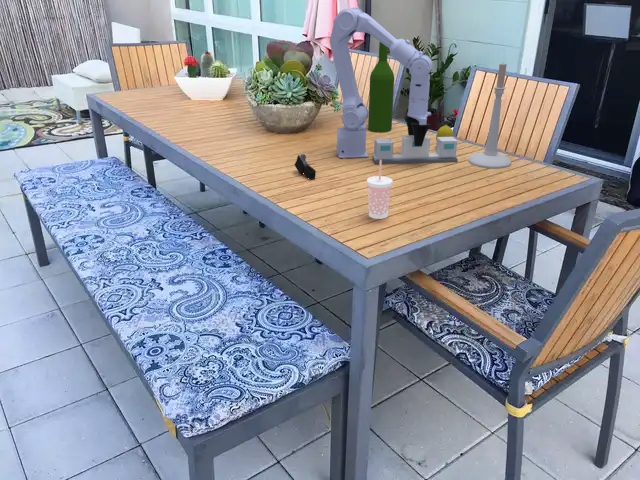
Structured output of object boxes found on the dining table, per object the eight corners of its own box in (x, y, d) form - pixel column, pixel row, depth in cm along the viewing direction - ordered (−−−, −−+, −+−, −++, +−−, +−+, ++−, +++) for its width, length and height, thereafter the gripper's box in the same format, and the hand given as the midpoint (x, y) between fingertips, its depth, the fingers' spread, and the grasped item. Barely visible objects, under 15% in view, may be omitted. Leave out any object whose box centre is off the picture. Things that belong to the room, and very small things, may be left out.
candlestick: (478, 169, 161) (492, 66, 147) (462, 157, 172) (473, 59, 159) (518, 167, 162) (535, 64, 149) (499, 155, 174) (513, 58, 161)
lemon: (452, 151, 178) (454, 127, 174) (435, 150, 179) (437, 126, 175) (451, 146, 183) (454, 123, 179) (435, 145, 184) (437, 122, 180)
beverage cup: (368, 209, 134) (370, 155, 128) (392, 211, 132) (395, 157, 126) (363, 218, 129) (365, 162, 122) (388, 221, 127) (391, 165, 121)
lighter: (313, 185, 157) (319, 172, 152) (307, 186, 156) (313, 174, 151) (300, 163, 160) (305, 150, 156) (294, 164, 159) (299, 151, 155)
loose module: (428, 157, 167) (430, 138, 164) (403, 157, 166) (404, 139, 164) (425, 153, 171) (427, 134, 168) (400, 153, 170) (402, 135, 167)
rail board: (375, 164, 166) (376, 143, 163) (372, 158, 171) (372, 138, 168) (457, 161, 167) (459, 141, 165) (451, 156, 173) (453, 136, 170)
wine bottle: (396, 130, 203) (401, 39, 188) (378, 133, 198) (382, 40, 184) (381, 125, 209) (385, 37, 195) (363, 128, 205) (366, 38, 191)
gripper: (438, 103, 154) (434, 148, 160) (425, 93, 167) (422, 135, 173) (414, 103, 154) (411, 149, 160) (403, 93, 167) (400, 136, 173)
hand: (415, 142), depth 167 cm, fingers open, 7 cm apart
